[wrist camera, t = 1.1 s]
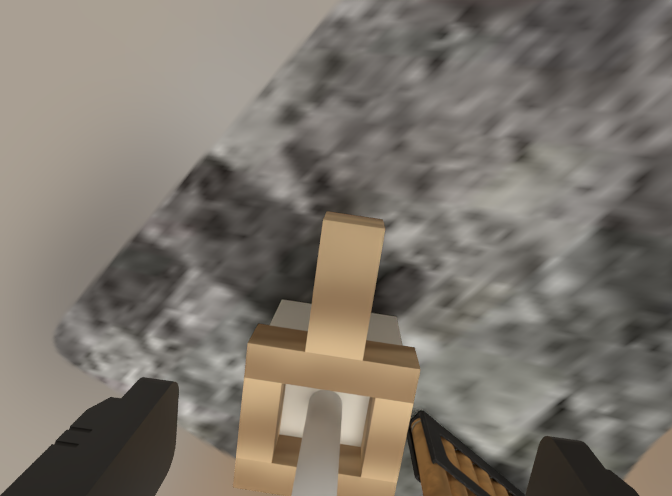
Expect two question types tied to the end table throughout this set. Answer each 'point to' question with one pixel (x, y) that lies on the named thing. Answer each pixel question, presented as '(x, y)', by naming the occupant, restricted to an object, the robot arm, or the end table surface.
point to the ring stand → (324, 410)
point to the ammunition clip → (451, 464)
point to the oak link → (330, 372)
